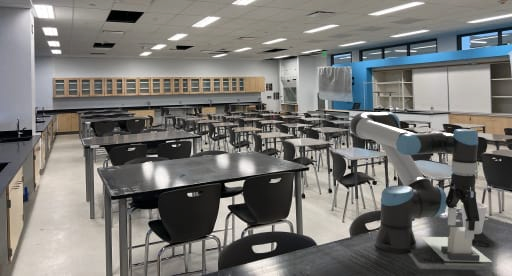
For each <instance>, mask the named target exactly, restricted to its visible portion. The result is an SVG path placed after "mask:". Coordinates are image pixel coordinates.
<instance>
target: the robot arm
mask: <svg viewBox="0 0 512 276" xmlns="http://www.w3.org/2000/svg"><path fill="white" fill-rule="evenodd" d="M349 123H350V124H349V129H350V132H351V133H352V135H354V136H355V137H357V138H358V139H359V138H360V139H362V140H367V139H369V140H372V141H375V143H376V144H377V145H380V146H381V147H382V149H383V151H384V153H385V154H386V156H387V157H388V160H389V161H390V163H391V165H392V167H393V168H394V170H395V173H396V174H397V176H398V178H399V180H400V181H401V183H402V184H401V185H390V186H387V187H385V188H384V189H382V192H381V195H380V197H381V198H380V227H379V228H378V231H377V234H376V236H375V242H374V243H375V246H376V247H377V248H378V249H380V250H382V251H384V252H388V253H392V254H393V253H394V254H411V253H412V251H411V250H413V249H415V248H416V247H417V241H416V236H415V233H414V231H413V220H415V219H424V218H434V217H437V216H441V215H442V214H443V213H444V212H445V211H446V209H447V207H448V209H447V222H446V224H447V226H456V224H457V208H458V204H459V202H460V203H463V206H464V209H465V213H466V216H467V219H466V220H465V221H466V224H465V239H472V240H474V239H475V234H474V230H475V221H479V214H478V208H477V203H478V201H477V192H476V191H475V190H471V187H473V186H476V180H477V179H476V178H477V177H476V175H475V174H477V167H478V164H477V162H478V161H477V159H478V150H479V149H478V146H479V132H478V131H477V130H476V129H470V128H469V129H468V128H458V129H454V131H453V133H451V132H445V131H444V132H443V131H430V132H426V133H424V132H422V133H416V132H412V131H408V130H405V129H401V125H400V124H401V120H400V119H399V117H398V115H396V114H395V113H394V112H391V111H380V112H378V111H376V112H370V111H369V112H365V111H364V112H360V113H357V114H356V115H355V116H353V117H352V119H351V120H350V122H349ZM424 154H427V155H428V154H449V155H451V157H452V159H451V170H450V171H451V174H450V185H449V190H448V192H447V193H448V194H447V193H446V191H444V189H443V188H442V187H439V186H436V185H435V186H434V184H433V182H432V181H431V180H430V178H426V177H424V176H423V174H422V172H421V171H420V169H419V168H418V166H417V164H416V162H415V160H414V158H412V156H414V155H424Z"/></svg>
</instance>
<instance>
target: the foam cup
mask: <svg viewBox="0 0 512 276" xmlns="http://www.w3.org/2000/svg"><path fill="white" fill-rule="evenodd" d="M477 208H478V214H479V221H475V230H474V235H480V234H482V231H483V228H484V224H485V218H486V213H487V208H488V207H487V205H486V204H484V203H481V202H477ZM460 209H461V210H460V211H461V217H462V218H461V219H462V227H465V224H466V221H465V220H466V219H467V216H466V213H465V209H464V206H463V203H462V202H460Z"/></svg>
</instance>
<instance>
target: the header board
mask: <svg viewBox="0 0 512 276" xmlns="http://www.w3.org/2000/svg"><path fill="white" fill-rule="evenodd" d="M421 239H422V241H424V242H426V244H427V245H428V246H429V247H430V248H431V249H432V251H434V252H435V253H436V254H437V255H438V256H439V257H440V258H441V259H442V260H443V261H444V262H442V264H443V265H444V266H465V267H466V266H469V267H470V266H472V267H474V266H477V267H493V261H492V260H491V259H490V258H488V257H487V256H485V255H484V254H483V252H480V250H478V249H477V248H475V246H473V245H472V252H471V254H452V253H451V252H447V251H448V236H421ZM454 262H455V263H454ZM459 262H460V263H459ZM462 262H468V263H462ZM470 262H471V263H470ZM472 262H473V263H472ZM475 262H477V263H475Z"/></svg>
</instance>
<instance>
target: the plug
mask: <svg viewBox="0 0 512 276" xmlns="http://www.w3.org/2000/svg"><path fill="white" fill-rule="evenodd" d="M447 237H448V251H447V252H451V253H452V254H471V252H472V246H473V239H465V227H463V226H461V227H460V226H450V227H449V235H448V236H447Z"/></svg>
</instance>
